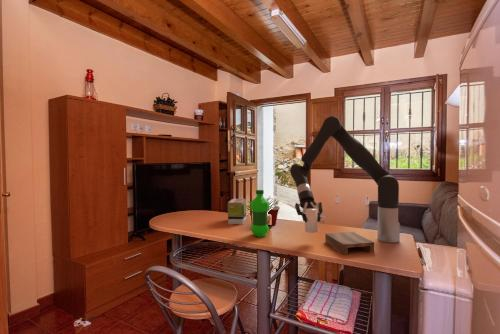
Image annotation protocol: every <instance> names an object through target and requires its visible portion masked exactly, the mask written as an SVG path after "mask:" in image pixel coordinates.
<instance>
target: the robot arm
mask: <svg viewBox="0 0 500 334" xmlns="http://www.w3.org/2000/svg"><path fill="white" fill-rule="evenodd" d="M321 124H322V125H321V126H320V128H319V131H318V133H317V134H316V136H315V138H314V139H313V141H312V142H311V143H310V144H309V146H308V147H307V149H306V150H305V152H304V153H303V154H302V156H301V158H300V160H301V161H302V162H303V164H302V165H301V164H299V163H294V164H292V165H291V166H290V167H289V168H290V169H289V172H290V175H291V178H292V179H293V181H294V183H295V186H296V190H297V191H296V192H297V196H298V200H299V201H298V202H296V203H295V204H294V209H295V210H296V213H297V215H298V216H301V218H302V221H303V222H304V223H305V222H307V218H306V215H305V209H306V208H316V209H317V216H318V223H319V222H320V221H321V220H322V217H321V215H322V213H323V204H322V202H320V201H319V202H316V201H315V197H314V194H313V191H312V188H311V186H310V182H309V180H308V178H307V176H308V175H309V173H310V171H311V169H312V165H313V164H314V162H315V160H317V158H318V157H319V155H320V153H321V151H322V149H323V148H324V146H325V144H326V142H327V141H328V140H329V139H330V137H332V138H333V139H334V140H336V142H337V143H338V144H339V145H340V146H341V148H342V149H343V151H344V152H345V153H346V154H347V156H348V157H349V158H350V159H351V160H352V161H353V162H354V163H355V165H356V166H357V167H359V168H360V169H362V171H364V172H365V173H367V174H368V175H369V177H370V178H372V179H373V181H374V182H375V184H376V185H377V240H378V241H379V242H383V243H389V244H391V243H392V244H394V243H398V242H400V239H401V238H400V236H401V235H400V234H401V224H400V222H399V200H400V199H399V198H400V197H399V196H400V185H399V181H398V180H397V178H396V177H395V176H393V175H392V174H390V173H389V172H388V171H387V170H386V169H385V168H384V167H382V165H380V163H379V161H378V160H377V159H376V157H375V156H374V155H373V154H372V153H371V152H370V150H369V149H368V148H367V147H366V146H365V145H364V144H362V143H361V141H360V140H358V139H357V138H355V137H354V136H353V135H351V134H350V133H349V132H348V131H347V129H346V128H345V127H344V125H343V124H342V122H341V121H340V119H339V118H338V117H337V116H334V115H330V116H328V117H326V118H325V119H324V121H323V123H321ZM300 207H301V208H302V211H301V208H300Z"/></svg>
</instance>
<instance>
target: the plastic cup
mask: <svg viewBox="0 0 500 334" xmlns="http://www.w3.org/2000/svg"><path fill="white" fill-rule="evenodd" d="M274 206H275V207H274V208H273V209H271V210H270V211H269V212H268V214H271V215H272V226H271V227H275V226H276V225H277V220H278V214H279V210H280V206H278V205H274Z"/></svg>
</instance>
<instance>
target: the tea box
mask: <svg viewBox="0 0 500 334" xmlns="http://www.w3.org/2000/svg"><path fill="white" fill-rule="evenodd" d="M246 203H247V200H246V198H231V199H230V200H229V201H227V222H228V223H227V224H228V225H231V224H239V226H241V225H242V226H243V225H244V223H245V222H246V220H247V204H246Z"/></svg>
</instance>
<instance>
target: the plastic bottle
mask: <svg viewBox="0 0 500 334" xmlns="http://www.w3.org/2000/svg"><path fill="white" fill-rule="evenodd" d="M264 191H265V190H264V189H256V190H255V194H256V196H255V198H253V199H252V200H251V201H250V205H249V207H250V210H251V211H252V224H251V227H250V231H251V232H252V234H254V235H255V237H258V238H261V237H266V235H267V234H268V233H269V231H270V226H268V224H267V210H268V209H269V205H270V202H269V201H268V200H267V198H265V197H264V195H263V194H264Z"/></svg>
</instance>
